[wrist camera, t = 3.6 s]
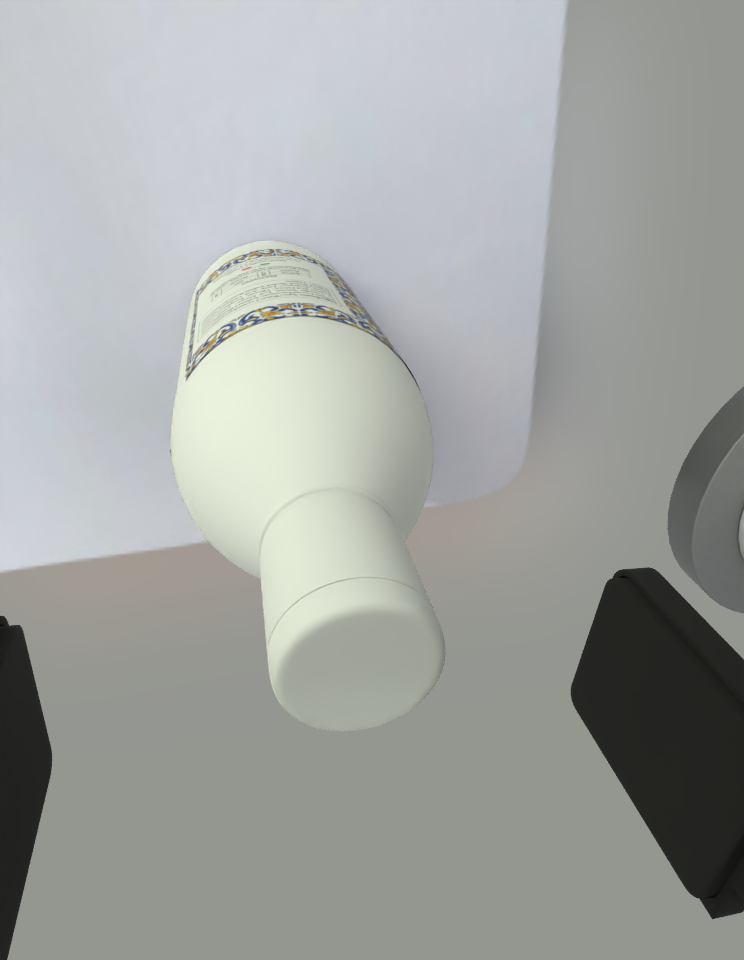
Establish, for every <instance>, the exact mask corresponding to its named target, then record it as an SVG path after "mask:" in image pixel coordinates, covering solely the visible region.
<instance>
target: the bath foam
mask: <svg viewBox="0 0 744 960" xmlns="http://www.w3.org/2000/svg"><path fill="white" fill-rule="evenodd" d="M170 453H171V456H172V462H173V468H174V473H175V477H176V481H177V484H178V488H179V491H180V494H181V496H182V499H183V501H184V503H185V505H186V508H187V510H188V512H189V514H190V516H191V517H192V519H193V521H194V522H195V524H196V525H197V527H198V528H199V529H200V531H201V532H202V534H203V535H204V536H205V538H206V539H207V540H208V541H209V542H210V543H211V544H212V545H213V546H214V547H215V548H216V549H217V550H218V551H219V552H220V553H221V554H222V555H223V556H225V557H226V558H227V559H228V560H230V561H231V562H232V563H234V564H235V565H237V566H238V567H239V568H241V569H243V570H244V571H246V572H248V573H249V574H251V575H253V576H255V577H257V578H259V579H261V586H262V599H263V611H264V622H265V633H266V645H267V656H268V667H269V675H270V681H271V685H272V688H273V691H274V693H275V696H276V698H277V699H278V701H279V703H280V704H281V706H282V707H283V708H284V709H285V710H286V711H287V712H288V713H289V714H290V715H291V716H293V717H294V718H296V719H297V720H299V721H301V722H303V723H305V724H307V725H309V726H312V727H315V728H319V729H323V730H329V731H356V730H363V729H368V728H372V727H375V726H379V725H381V724H384V723H387V722H389V721H392V720H394V719H396V718H398V717H400V716H402V715H403V714H405V713H407V712H408V711H410V710H411V709H412V708H414V707H415V706H416V705H417V704H419V703H420V702H421V701H422V700H423V699H424V698H425V697H426V696H427V695H428V694H429V692H430V691H431V690H432V688H433V687H434V685H435V684H436V682H437V680H438V679H439V677H440V674H441V672H442V669H443V666H444V661H445V641H444V637H443V632H442V629H441V627H440V624H439V621H438V619H437V617H436V614H435V612H434V610H433V607H432V605H431V603H430V600H429V598H428V596H427V593H426V591H425V589H424V586H423V584H422V582H421V580H420V577H419V575H418V573H417V571H416V568H415V565H414V563H413V561H412V559H411V556H410V554H409V552H408V549H407V547H406V545H405V543H404V541H405V540H406V538H407V536H408V535H409V533H410V532H411V530H412V528H413V527H414V525H415V523H416V521H417V519H418V517H419V515H420V513H421V510H422V508H423V506H424V503H425V500H426V497H427V493H428V490H429V486H430V481H431V475H432V466H433V441H432V432H431V426H430V421H429V417H428V413H427V409H426V406H425V403H424V400H423V398H422V395H421V392H420V390H419V387H418V385H417V382H416V380H415V378H414V377H413V375H412V373H411V371H410V370H409V368H408V367H407V365H406V364H405V363H404V361H403V360H402V359H401V357H400V356H399V355H398V353H397V352H396V350H395V349H394V348H393V346H392V345H391V344H390V342H389V341H388V340H387V338H386V337H385V336H384V334H383V333H382V332H381V330H380V329H379V327H378V326H377V325H376V323H375V322H374V321H373V319H372V318H371V317H370V315H369V314H368V313H367V311H366V310H365V309H364V307H363V306H362V304H361V303H360V302H359V300H358V299H357V298H356V296H355V295H354V294H353V292H352V291H351V290H350V288H349V287H348V286H347V284H346V283H345V282H344V281H343V279H342V278H341V277H340V276H339V274H338V273H337V272H336V271H335V270H334V269H333V267H332V266H331V265H330V264H328V263H327V262H326V261H325V260H324V259H322V258H321V257H320V256H318V255H317V254H315V253H313V252H311V251H309V250H307V249H305V248H302V247H300V246H297V245H293V244H290V243H286V242H281V241H258V242H253V243H248V244H245V245H242V246H239V247H237V248H235V249H233V250H231V251H229V252H227V253H226V254H224V255H223V256H221V257H220V258H219V259H218V260H216V261H215V262H214V263H213V264H212V265H211V266H210V267H209V268H208V269H207V271H206V272H205V273H204V275H203V276H202V277H201V279H200V281H199V283H198V284H197V286H196V288H195V291H194V293H193V296H192V299H191V303H190V308H189V313H188V320H187V326H186V332H185V339H184V345H183V352H182V358H181V365H180V371H179V377H178V384H177V390H176V397H175V403H174V410H173V418H172V427H171V449H170Z"/></svg>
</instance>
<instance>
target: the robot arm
mask: <svg viewBox="0 0 744 960" xmlns="http://www.w3.org/2000/svg"><path fill="white" fill-rule="evenodd" d="M738 539H739V546H740V552H741V554H742V556H743V558H744V510H743V513H742V516H741V520H740V525H739V537H738ZM571 698H572V702H573V705H574V707H575V709H576V710H577V712H578V714H579V715H580V717H581V719H582V720H583V722H584V724H585V725H586V727H587V728H588V730H589V732H590V733H591V735H592V737H593V738H594V740H595V741H596V743H597V745H598V746H599V748H600V750H601V751H602V753H603V755H604V756H605V758H606V759H607V761H608V763H609V764H610V766H611V768H612V769H613V771H614V772H615V774H616V776H617V777H618V779H619V781H620V782H621V784H622V785H623V787H624V789H625V790H626V792H627V793H628V795H629V797H630V799H631V800H632V802H633V803H634V805H635V807H636V808H637V810H638V811H639V813H640V815H641V817H642V818H643V820H644V821H645V823H646V825H647V826H648V828H649V830H650V831H651V833H652V834H653V836H654V838H655V839H656V841H657V842H658V844H659V846H660V847H661V849H662V851H663V852H664V854H665V856H666V857H667V859H668V861H669V862H670V864H671V865H672V867H673V869H674V870H675V872H676V873H677V875H678V877H679V878H680V880H681V881H682V883H683V885H684V886H685V888H686V889H687V890H688V892H689V893H690V894H691V895H693V896H694V897H696V898H700V900H701V902H702V903H703V905H704V906H705V908H706V910H707V911H708V913H709V914H710V916H711V918H712V919H715V918H719V917H724V916H728V915H733V914H737V913H741V912H743V911H744V660H743V658H742V657H741V656H740V655H739V654H738V653H737V652H736V651H735V650H734V649H733V648H732V647H731V646H730V645H729V644H728V643H727V642H726V641H725V640H724V639H723V638H722V637H721V636H720V635H719V634H718V633H717V632H716V631H715V630H714V629H713V628H712V627H711V626H710V625H709V624H708V623H707V622H706V620H705V619H704V618H703V617H702V616H701V615H700V614H699V613H698V612H697V611H696V610H695V609H694V608H693V607H692V606H691V605H690V604H689V603H688V602H687V601H686V600H685V599H684V598H683V597H682V596H681V595H680V594H679V593H678V592H677V591H676V590H675V589H674V588H673V587H672V586H671V585H670V583H669V582H668V581H667V580H666V579H665V578H664V577H663V576H662V575H661V574H660V573H659V572H658V571H656V570H655V569H653V568H637V569H623V570H619V571H617V572H616V573H615V574H614V576H613V578H612V579H610V580H608V581H607V583H606V585H605V588H604V591H603V594H602V597H601V600H600V603H599V605H598V609H597V612H596V614H595V617H594V621H593V624H592V626H591V629H590V632H589V635H588V638H587V641H586V645H585V647H584V650H583V653H582V656H581V659H580V662H579V665H578V668H577V671H576V674H575V677H574V680H573V683H572V686H571ZM51 767H52V751H51V746H50V742H49V738H48V733H47V729H46V725H45V721H44V716H43V712H42V709H41V704H40V700H39V696H38V691H37V687H36V683H35V679H34V675H33V670H32V666H31V662H30V658H29V654H28V650H27V645H26V642H25V637H24V633H23V630H22V628H21V626H20V625H12V626H9V624H8V622H7V619H6V618H5V617H4V616H0V960H7V958H8V954H9V949H10V945H11V941H12V937H13V932H14V928H15V924H16V919H17V915H18V911H19V907H20V903H21V899H22V894H23V890H24V886H25V882H26V877H27V873H28V868H29V865H30V860H31V856H32V852H33V848H34V843H35V839H36V835H37V830H38V826H39V822H40V818H41V813H42V809H43V805H44V801H45V797H46V792H47V788H48V784H49V779H50V775H51Z"/></svg>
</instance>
